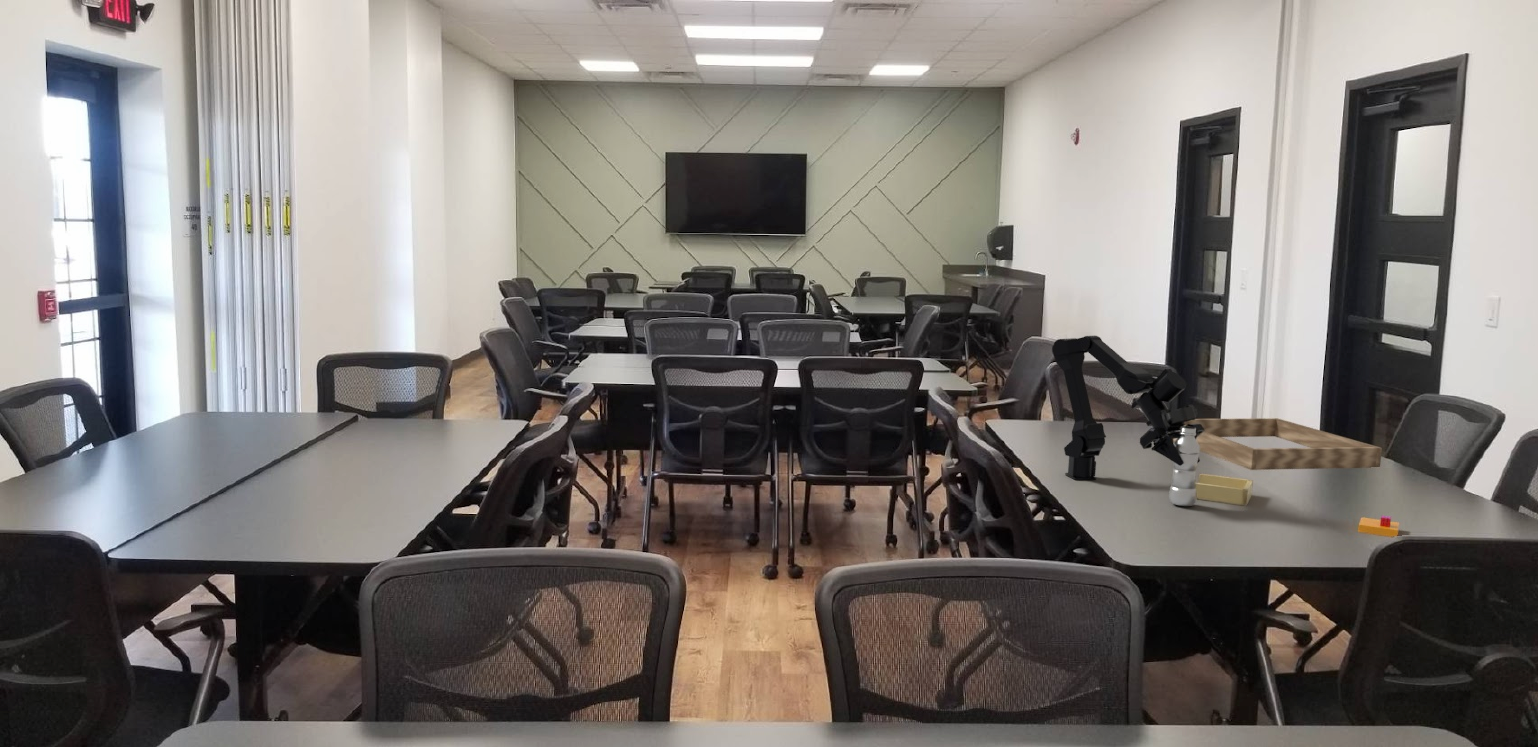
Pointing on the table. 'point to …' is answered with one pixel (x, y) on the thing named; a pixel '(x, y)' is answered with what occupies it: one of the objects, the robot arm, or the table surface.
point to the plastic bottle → (1185, 468)
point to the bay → (1224, 489)
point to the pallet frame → (1320, 455)
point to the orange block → (1379, 526)
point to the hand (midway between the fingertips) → (1190, 463)
